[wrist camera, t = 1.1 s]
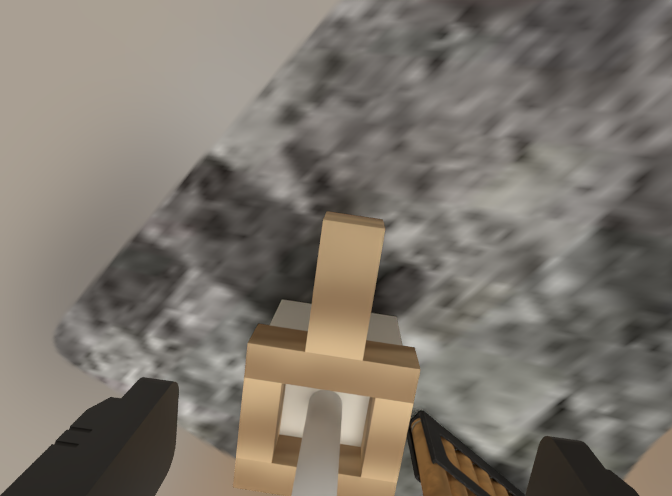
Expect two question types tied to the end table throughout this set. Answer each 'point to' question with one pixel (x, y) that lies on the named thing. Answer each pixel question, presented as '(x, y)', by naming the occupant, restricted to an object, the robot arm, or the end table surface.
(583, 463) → the robot arm
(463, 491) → the ammunition clip
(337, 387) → the oak link
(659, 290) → the end table surface
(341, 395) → the ring stand
